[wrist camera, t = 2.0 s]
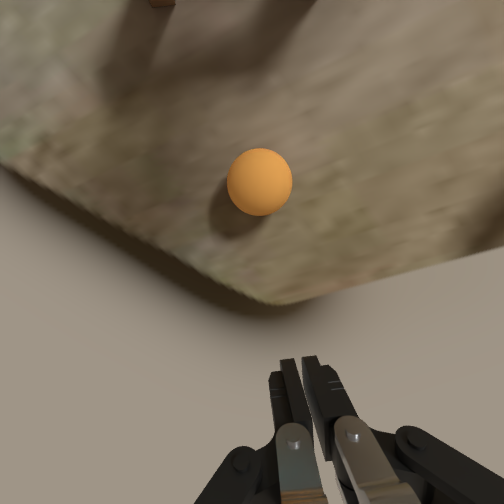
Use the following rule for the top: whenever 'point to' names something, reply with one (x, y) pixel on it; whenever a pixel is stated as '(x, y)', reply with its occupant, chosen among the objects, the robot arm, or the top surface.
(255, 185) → the ball
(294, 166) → the top surface
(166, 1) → the bridge
